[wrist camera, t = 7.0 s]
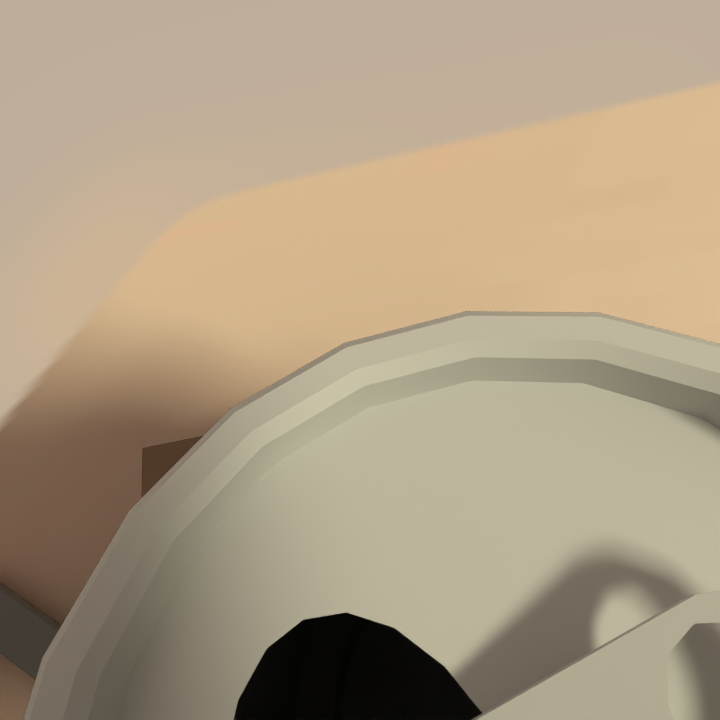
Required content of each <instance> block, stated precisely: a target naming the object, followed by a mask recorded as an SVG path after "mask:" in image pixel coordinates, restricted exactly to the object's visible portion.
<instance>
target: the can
mask: <svg viewBox="0 0 720 720" xmlns="http://www.w3.org/2000/svg"><path fill="white" fill-rule="evenodd" d="M23 720H720V344H719V343H715V342H711V341H707V340H703V339H699V338H695V337H692V336H688V335H684V334H680V333H676V332H672V331H668V330H664V329H661V328H657V327H653V326H649V325H645V324H641V323H637V322H633V321H630V320H626V319H622V318H618V317H614V316H610V315H606V314H602V313H599V312H479V311H465V312H462V313H458V314H454V315H450V316H446V317H442V318H438V319H435V320H431V321H427V322H423V323H419V324H415V325H412V326H408V327H404V328H400V329H396V330H392V331H388V332H385V333H381V334H377V335H373V336H369V337H365V338H361V339H358V340H354V341H350V342H346V343H343V344H341V345H340V346H338V347H336V348H334V349H333V350H331V351H329V352H327V353H326V354H324V355H322V356H320V357H319V358H317V359H315V360H314V361H312V362H310V363H308V364H307V365H305V366H303V367H301V368H300V369H298V370H296V371H295V372H293V373H291V374H289V375H288V376H286V377H284V378H282V379H281V380H279V381H277V382H276V383H274V384H272V385H270V386H269V387H267V388H265V389H263V390H262V391H260V392H258V393H256V394H255V395H253V396H251V397H250V398H248V399H246V400H244V401H243V402H241V403H239V404H237V405H236V406H234V407H232V408H231V409H230V410H229V411H228V412H227V413H226V414H225V415H224V416H223V417H222V418H221V419H220V420H219V421H218V422H217V423H216V424H215V425H214V426H213V427H212V428H211V429H210V430H209V431H208V432H207V433H206V434H205V435H204V436H203V437H202V438H201V439H200V440H199V441H198V442H197V443H196V444H195V445H194V446H193V447H192V448H191V449H190V450H189V451H188V452H187V453H186V454H185V455H184V456H183V457H182V458H181V459H180V460H179V461H178V462H177V463H176V464H175V465H174V466H173V467H172V468H171V469H170V470H169V471H168V472H167V473H166V474H165V475H164V476H163V477H162V478H161V479H160V480H159V481H158V482H157V483H156V484H155V485H154V486H153V487H152V488H151V489H150V490H149V491H148V492H147V493H146V494H145V495H144V496H143V497H142V498H141V499H140V500H139V501H138V502H137V503H136V504H135V505H134V506H133V507H132V508H131V509H130V510H129V512H128V514H127V515H126V517H125V519H124V521H123V522H122V524H121V526H120V527H119V529H118V531H117V532H116V534H115V536H114V537H113V539H112V541H111V543H110V544H109V546H108V548H107V549H106V551H105V553H104V554H103V556H102V558H101V559H100V561H99V563H98V565H97V566H96V568H95V570H94V571H93V573H92V575H91V576H90V578H89V580H88V582H87V583H86V585H85V587H84V588H83V590H82V592H81V593H80V595H79V597H78V598H77V600H76V602H75V604H74V605H73V607H72V609H71V610H70V612H69V614H68V615H67V617H66V619H65V620H64V622H63V624H62V626H61V627H60V629H59V631H58V632H57V634H56V636H55V637H54V639H53V641H52V642H51V644H50V646H49V648H48V649H47V651H46V653H45V654H44V656H43V658H42V661H41V664H40V667H39V670H38V674H37V677H36V680H35V683H34V686H33V690H32V693H31V696H30V699H29V703H28V706H27V709H26V712H25V715H24V719H23Z"/></svg>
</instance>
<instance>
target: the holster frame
mask: <svg viewBox="0 0 720 720" xmlns="http://www.w3.org/2000/svg"><path fill="white" fill-rule="evenodd" d="M60 627H61V625H59V624H58V623H57V622H55V621H54V620H52V619H51V618H49V617H48V616H47V615H45V614H44V613H42V612H41V611H39V610H38V609H37V608H35V607H34V606H32V605H31V604H29V603H28V602H27V601H25V600H24V599H22V598H21V597H19V596H18V595H17V594H15V593H14V592H12V591H11V590H9V589H8V588H6V587H5V586H4V585H2V584H1V583H0V653H1V654H2V655H4V656H5V657H6V658H8V659H9V660H10V661H12V662H13V663H14V664H16V665H17V666H18V667H20V668H21V669H22V670H24V671H25V672H26V673H28V674H29V675H30V676H32V677H33V678H34V679H36V677H37V674H38V670H39V667H40V664H41V661H42V658H43V656H44V654H45V653H46V651H47V649H48V648H49V646H50V644H51V642H52V641H53V639H54V637H55V636H56V634H57V632H58V631H59V629H60Z"/></svg>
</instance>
